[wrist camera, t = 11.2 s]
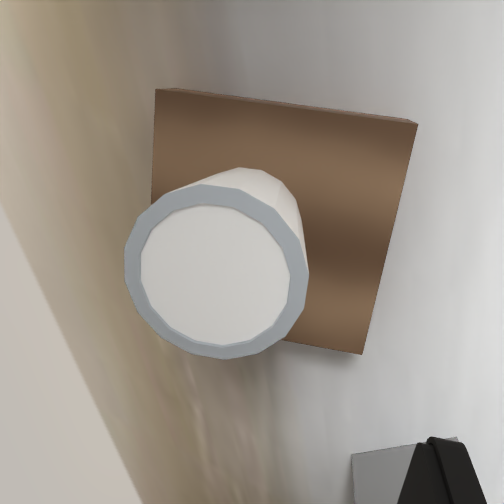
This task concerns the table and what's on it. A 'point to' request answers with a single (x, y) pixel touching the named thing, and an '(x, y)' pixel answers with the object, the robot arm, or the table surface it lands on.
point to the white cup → (220, 264)
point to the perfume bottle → (381, 474)
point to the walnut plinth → (301, 189)
